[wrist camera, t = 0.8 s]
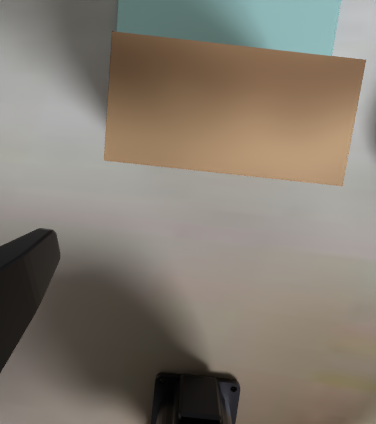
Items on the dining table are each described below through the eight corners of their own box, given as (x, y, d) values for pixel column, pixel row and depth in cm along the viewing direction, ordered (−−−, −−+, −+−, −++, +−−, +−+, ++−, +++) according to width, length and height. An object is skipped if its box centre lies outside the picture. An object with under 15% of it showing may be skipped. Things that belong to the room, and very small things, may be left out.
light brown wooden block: (281, 170, 25) (342, 185, 15) (138, 155, 24) (103, 160, 15) (292, 96, 24) (365, 59, 14) (144, 79, 24) (112, 31, 14)
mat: (324, 91, 24) (325, 91, 23) (114, 68, 23) (113, 67, 23) (346, -42, 22) (348, -44, 22) (123, -67, 22) (123, -70, 22)
